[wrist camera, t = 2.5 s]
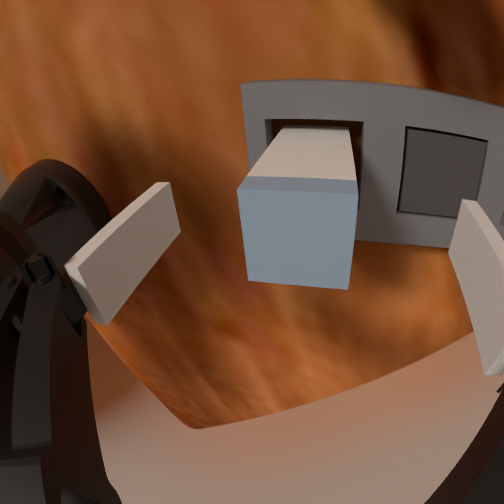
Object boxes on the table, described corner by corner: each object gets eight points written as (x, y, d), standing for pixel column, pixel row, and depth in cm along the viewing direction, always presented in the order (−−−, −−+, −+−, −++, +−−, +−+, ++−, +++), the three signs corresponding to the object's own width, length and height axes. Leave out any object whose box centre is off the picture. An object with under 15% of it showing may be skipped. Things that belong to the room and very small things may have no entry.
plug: (287, 181, 20) (248, 280, 12) (284, 124, 18) (236, 189, 10) (346, 184, 19) (347, 289, 11) (348, 126, 17) (358, 194, 9)
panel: (262, 218, 23) (255, 233, 21) (249, 81, 17) (240, 84, 15) (539, 244, 16) (549, 258, 15) (568, 131, 11) (583, 139, 9)
